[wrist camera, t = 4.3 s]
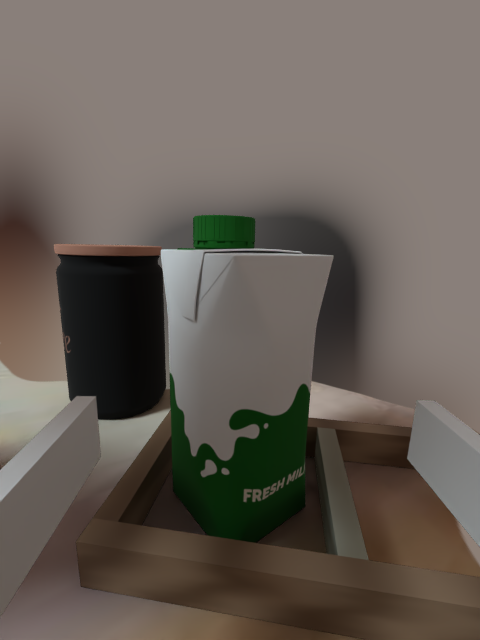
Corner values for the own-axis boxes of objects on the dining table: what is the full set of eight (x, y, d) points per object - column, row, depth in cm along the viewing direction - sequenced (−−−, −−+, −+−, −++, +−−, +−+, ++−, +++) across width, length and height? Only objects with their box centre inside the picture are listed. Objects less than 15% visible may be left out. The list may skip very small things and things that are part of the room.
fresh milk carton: (245, 447, 30) (252, 223, 25) (325, 510, 23) (355, 217, 18) (156, 490, 24) (144, 214, 20) (226, 588, 17) (233, 201, 13)
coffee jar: (103, 378, 44) (92, 244, 40) (177, 384, 43) (174, 246, 39) (48, 418, 34) (26, 243, 30) (144, 427, 33) (136, 246, 28)
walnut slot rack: (80, 586, 17) (75, 541, 17) (175, 432, 32) (174, 404, 31) (703, 702, 13) (729, 649, 13) (488, 466, 28) (495, 435, 27)
